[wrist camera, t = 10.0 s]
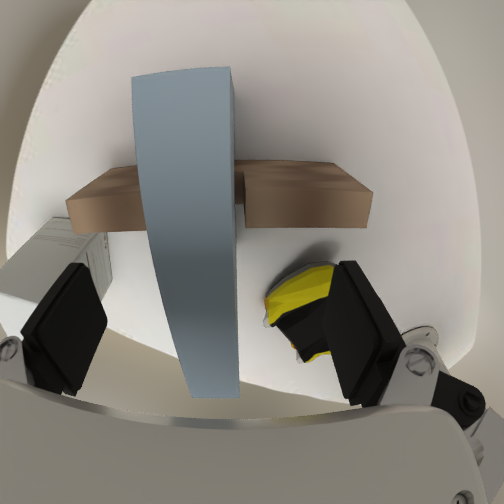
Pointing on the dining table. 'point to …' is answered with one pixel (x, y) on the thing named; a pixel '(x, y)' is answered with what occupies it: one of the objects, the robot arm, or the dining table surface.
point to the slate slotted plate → (192, 216)
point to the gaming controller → (301, 309)
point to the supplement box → (48, 269)
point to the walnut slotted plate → (237, 198)
